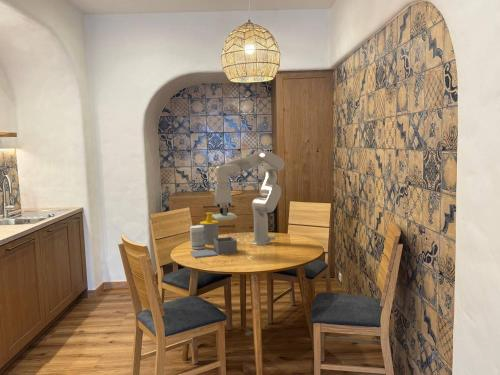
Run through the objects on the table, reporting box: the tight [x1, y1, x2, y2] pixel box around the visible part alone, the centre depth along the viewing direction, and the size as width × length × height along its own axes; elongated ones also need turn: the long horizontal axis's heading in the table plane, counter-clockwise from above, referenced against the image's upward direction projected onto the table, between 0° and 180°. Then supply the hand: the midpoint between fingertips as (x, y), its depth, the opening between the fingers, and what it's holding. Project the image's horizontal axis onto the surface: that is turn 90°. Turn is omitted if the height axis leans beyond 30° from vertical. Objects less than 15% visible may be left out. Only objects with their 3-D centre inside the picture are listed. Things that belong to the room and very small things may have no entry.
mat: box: [190, 248, 218, 259], centre depth 265 cm, size 14×14×1 cm
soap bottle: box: [199, 212, 220, 245], centre depth 296 cm, size 13×13×21 cm
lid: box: [211, 205, 238, 221], centre depth 267 cm, size 13×13×7 cm
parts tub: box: [213, 236, 238, 256], centre depth 269 cm, size 12×12×8 cm
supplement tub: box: [189, 224, 206, 250], centre depth 281 cm, size 10×10×15 cm
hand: (224, 213), depth 267 cm, fingers closed on lid
